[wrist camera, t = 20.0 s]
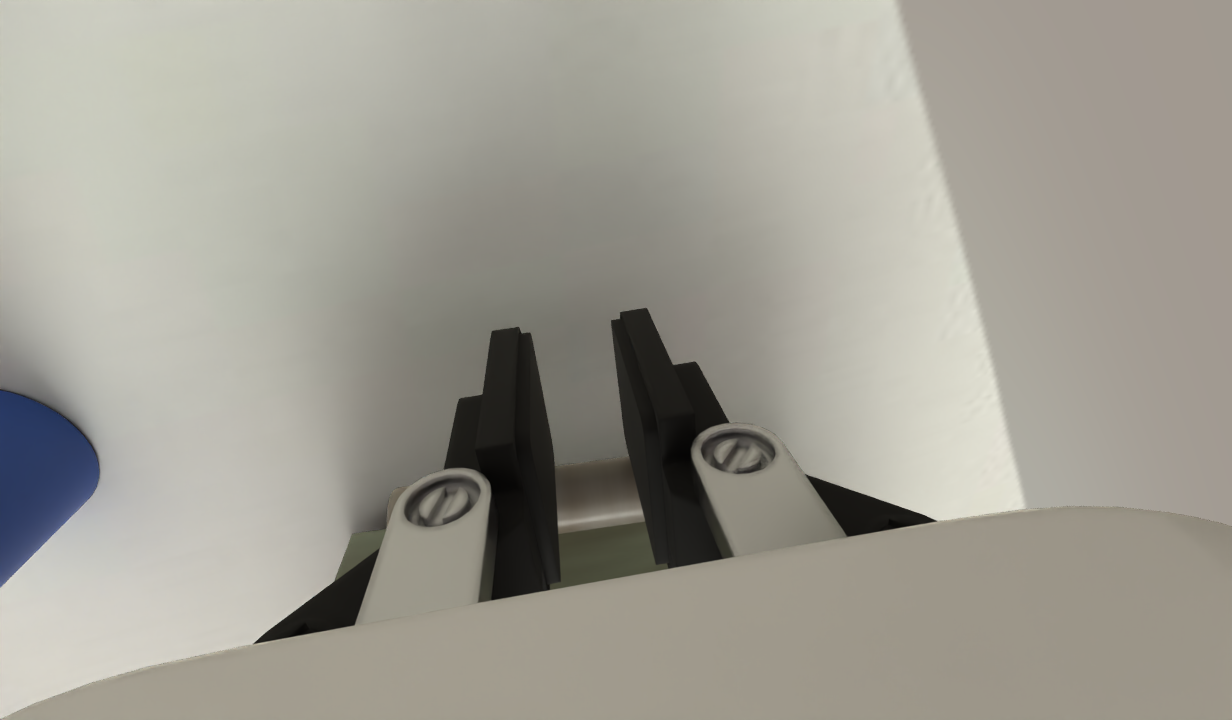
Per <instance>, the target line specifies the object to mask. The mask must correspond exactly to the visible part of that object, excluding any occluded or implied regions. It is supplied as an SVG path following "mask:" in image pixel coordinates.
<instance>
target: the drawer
mask: <svg viewBox="0 0 1232 720" xmlns="http://www.w3.org/2000/svg"><path fill="white" fill-rule="evenodd" d="M555 482H556V500H557V518H558V536H559V553H560V571H561V582H559V583H554V584H550V590H553V589H559V588H565V587H570V586H576V585H581V584H587V583H593V582H598V581H604V580H609V579H615V578H621V577H626V576H632V575H637V574H643V573H648V572H654V571H659V570H665V569H668V566H667V563H665V564H659V565H656V563H655V560H654V556H653V552H652V547H651V543H650V539H649V535H648V531H647V527H646V523H645V519H644V515H643V511H642V507H641V502H640V498H639V494H638V490H637V486H636V482H635V478H634V474H633V470H632V466H631V461H630V457H629V456H627V457H620V458H612V459H605V460H598V461H590V462H583V463H575V464H568V465H561V466H555ZM408 487H409V486H405V487H398V488H396V489H394V490H393V491H392V493H391V495H390V498H389V502H388V507H387V526H388V523H389V520H390V517H391V514H392V511H393V508H394V506H395V504H396V502H397V500H398V498H399V496H400V495H401V494H402V493H403V492H404V491H405V490H406V489H407V488H408ZM385 532H386V529H382V530H375V531H368V532H361V533H354V534H352V536H351V538H350V541H349V544H348V546H347V549H346V552H345V554H344V557H343V560H342V562H341V565H340V568H339V570H338V573H337V576H336V578H335V581H336V580H337V579H339V578H340V577H341V576H343V575H344V574H345V573H347V572H348V571H349V570H351V569H352V568H353V567H355V566H356V565H357V564H359V563H360V562H361V561H363V560H364V559H365V558H367V557H368V556H370V555H371V554H372V553H374V552H375V551H376V550H378V549H379V548H380V547H381V544H382V541H383V538H384V535H385ZM335 581H334V582H335Z"/></svg>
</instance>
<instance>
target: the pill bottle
mask: <svg viewBox="0 0 1232 720" xmlns="http://www.w3.org/2000/svg"><path fill="white" fill-rule="evenodd" d="M98 479H99V465H98V461H97V458H96V455H95V452H94V451H93V449H92V447H91V445H90V444H89V442H88V441H87V439H86V438H85V437H84V436H83V434H82V433H81V432H80V431H79V430H78V429H77V428H76V427H75V426H74V425H72V424H71V423H70V422H69V421H68V420H66V419H65V418H64V417H62V416H61V415H60V414H58V413H56V412H55V411H53V410H52V409H50V408H48V407H46V406H44V405H42V404H40V403H38V402H36V401H34V400H31V399H29V398H26V397H24V396H20V395H17V394H14V393H11V392H6V391H2V390H0V587H1V586H2V585H3V584H4V583H5V582H6V581H7V580H8V579H9V578H10V577H11V576H12V575H13V574H14V573H15V572H16V571H17V570H18V569H19V568H20V567H21V566H22V565H23V564H24V563H25V562H26V561H27V560H28V559H29V558H30V557H31V556H32V555H33V554H34V553H35V552H36V551H37V550H38V549H39V548H40V547H41V546H42V545H43V544H44V543H45V542H46V541H47V540H48V539H49V538H50V537H51V536H52V535H53V534H54V533H55V532H56V531H57V530H58V529H59V528H60V527H61V526H62V525H63V524H64V523H65V522H66V521H67V520H68V519H69V518H70V517H71V516H72V515H73V514H74V513H75V512H76V511H77V510H78V509H79V508H80V507H81V506H82V505H83V504H84V503H85V502H86V501H87V500H88V499H89V498H90V497H91V495H92V494H93V493H94V491H95V489H96V487H97V483H98Z"/></svg>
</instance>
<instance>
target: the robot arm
mask: <svg viewBox="0 0 1232 720" xmlns="http://www.w3.org/2000/svg"><path fill="white" fill-rule="evenodd" d="M611 326H612V335H613V344H614V352H615V360H616V369H617V377H618V386H619V394H620V402H621V411H622V419H623V428H624V434H625V440H626V445H627V449H628V453H629V457H630V461H631V466H632V470H633V474H634V478H635V482H636V486H637V490H638V494H639V498H640V502H641V507H642V511H643V515H644V519H645V523H646V527H647V531H648V535H649V539H650V543H651V547H652V552H653V556H654V560H655V563H656V565H659V564H665V563H667V566H668V569H665V570H659V571H654V572H648V573H643V574H637V575H632V576H626V577H621V578H615V579H609V580H604V581H598V582H593V583H587V584H581V585H576V586H570V587H565V588H559V589H553V590H550V584H554V583H559V582H561V571H560V553H559V536H558V518H557V500H556V482H555V465H554V451H553V444H552V438H551V433H550V428H549V423H548V418H547V413H546V408H545V402H544V397H543V392H542V387H541V382H540V377H539V371H538V366H537V361H536V356H535V351H534V346H533V341H532V336H531V333H523V334H521V331H520V328H519V327H515V328H509V329H502V330H495V331H492V332H491V338H490V345H489V352H488V359H487V366H486V373H485V380H484V387H483V394H482V395H478V396H472V397H465V398H460V399H459V401H458V404H457V409H456V413H455V418H454V423H453V428H452V432H451V437H450V442H449V447H448V451H447V456H446V461H445V466H444V470H442V471H438V472H434V473H432V474H430V475H427V476H425V477H423V478H421V479H419V480H418V481H416V482H415V483H413V484H412V485H410V486H409V487H408V488H407V489H406V490H405V491H404V492H403V493H402V494H401V495H400V496H399V498H398V500H397V502H396V504H395V506H394V508H393V511H392V514H391V517H390V520H389V523H388V526H387V529H386V532H385V535H384V538H383V541H382V544H381V547H380V548H379V549H378V550H376V551H375V552H374V553H372V554H371V555H370V556H368V557H367V558H365V559H364V560H363V561H361V562H360V563H359V564H357V565H356V566H355V567H353V568H352V569H351V570H349V571H348V572H347V573H345V574H344V575H343V576H341V577H340V578H339V579H337V580H336V581H335V582H333V583H332V584H331V585H329V586H328V587H326V588H325V589H324V590H322V591H321V592H320V593H318V594H317V595H316V596H314V597H313V598H312V599H310V600H309V601H308V602H306V603H305V604H304V605H302V606H301V607H300V608H298V609H297V610H296V611H294V612H293V613H292V614H290V615H289V616H287V617H286V618H285V619H283V620H282V621H281V622H279V623H278V624H277V625H275V626H274V627H273V628H271V629H270V630H269V631H267V632H266V633H265V634H264V635H263V636H262V637H260V638H259V639H258V640H257V641H256V642H255V643H254V644H252V645H246V646H242V647H237V648H232V649H228V650H223V651H218V652H214V653H209V654H204V655H200V656H195V657H190V658H186V659H181V660H176V661H172V662H167V663H163V664H158V665H153V666H149V667H145V668H141V669H138V670H134V671H131V672H127V673H124V674H120V675H117V676H113V677H110V678H106V679H103V680H99V681H96V682H92V683H89V684H87V685H84V686H81V687H78V688H76V689H73V690H70V691H67V692H65V693H62V694H59V695H56V696H54V697H51V698H48V699H45V700H42V701H40V702H37V703H34V704H32V705H30V706H28V707H25V708H23V709H21V710H19V711H17V712H15V713H12V714H10V715H8V716H6V717H4V718H1V719H0V720H1232V526H1228V525H1226V524H1223V523H1219V522H1214V521H1210V520H1205V519H1201V518H1197V517H1192V516H1187V515H1181V514H1176V513H1170V512H1161V511H1152V510H1143V509H1134V508H1124V507H1091V506H1088V507H1087V506H1065V507H1050V508H1037V509H1036V508H1035V509H1022V510H1015V511H1008V512H1001V513H994V514H986V515H979V516H972V517H965V518H958V519H951V520H944V521H936V520H934V519H931V518H929V517H927V516H925V515H922V514H919V513H916V512H913V511H911V510H908V509H905V508H902V507H899V506H896V505H893V504H890V503H887V502H884V501H881V500H878V499H876V498H873V497H870V496H867V495H864V494H861V493H858V492H855V491H852V490H849V489H846V488H844V487H841V486H838V485H835V484H832V483H829V482H826V481H823V480H820V479H817V478H814V477H811V476H809V475H806V474H804V473H803V471H802V470H801V468H800V467H799V465H798V464H797V462H796V461H795V459H794V458H793V457H792V455H791V454H790V452H789V451H788V449H787V448H786V446H785V445H784V443H783V442H782V441H781V440H780V439H779V438H778V437H777V436H776V435H775V434H774V433H772V432H770V431H768V430H767V429H765V428H762V427H759V426H756V425H752V424H745V423H729V421H728V419H727V418H726V416H725V414H724V412H723V410H722V408H721V406H720V405H719V403H718V401H717V399H716V397H715V395H714V393H713V391H712V390H711V388H710V386H709V384H708V382H707V380H706V378H705V377H704V375H703V373H702V371H701V369H700V367H699V365H698V364H697V363H696V362H689V363H683V364H677V365H673V364H672V362H671V360H670V358H669V355H668V353H667V351H666V349H665V347H664V344H663V342H662V340H661V338H660V336H659V333H658V331H657V329H656V327H655V325H654V323H653V320H652V318H651V316H650V314H649V312H648V309H647V308H643V309H636V310H629V311H622V312H620V319H616V320H611Z"/></svg>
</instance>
